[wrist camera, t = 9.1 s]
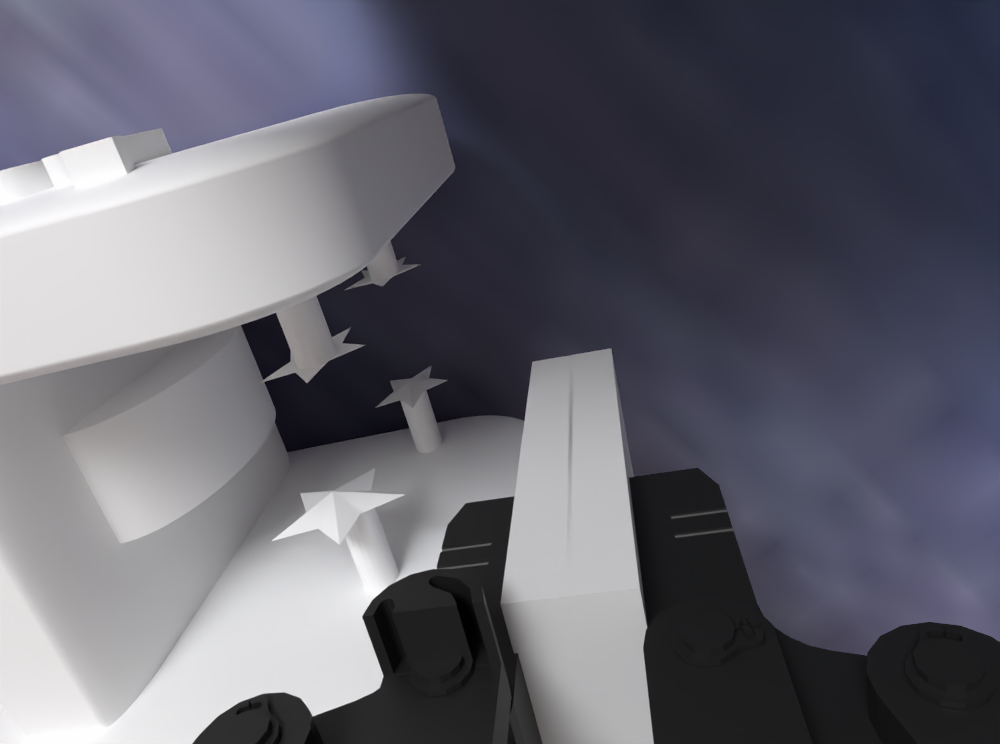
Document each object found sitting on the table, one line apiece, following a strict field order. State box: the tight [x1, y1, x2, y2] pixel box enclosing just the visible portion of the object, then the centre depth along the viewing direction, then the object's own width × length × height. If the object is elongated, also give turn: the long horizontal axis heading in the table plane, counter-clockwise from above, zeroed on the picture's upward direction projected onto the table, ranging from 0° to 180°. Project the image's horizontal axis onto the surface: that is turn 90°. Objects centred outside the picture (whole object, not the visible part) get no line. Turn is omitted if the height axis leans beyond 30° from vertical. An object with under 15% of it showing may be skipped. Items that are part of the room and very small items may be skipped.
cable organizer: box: [0, 94, 524, 744], centre depth 16 cm, size 15×11×12 cm
